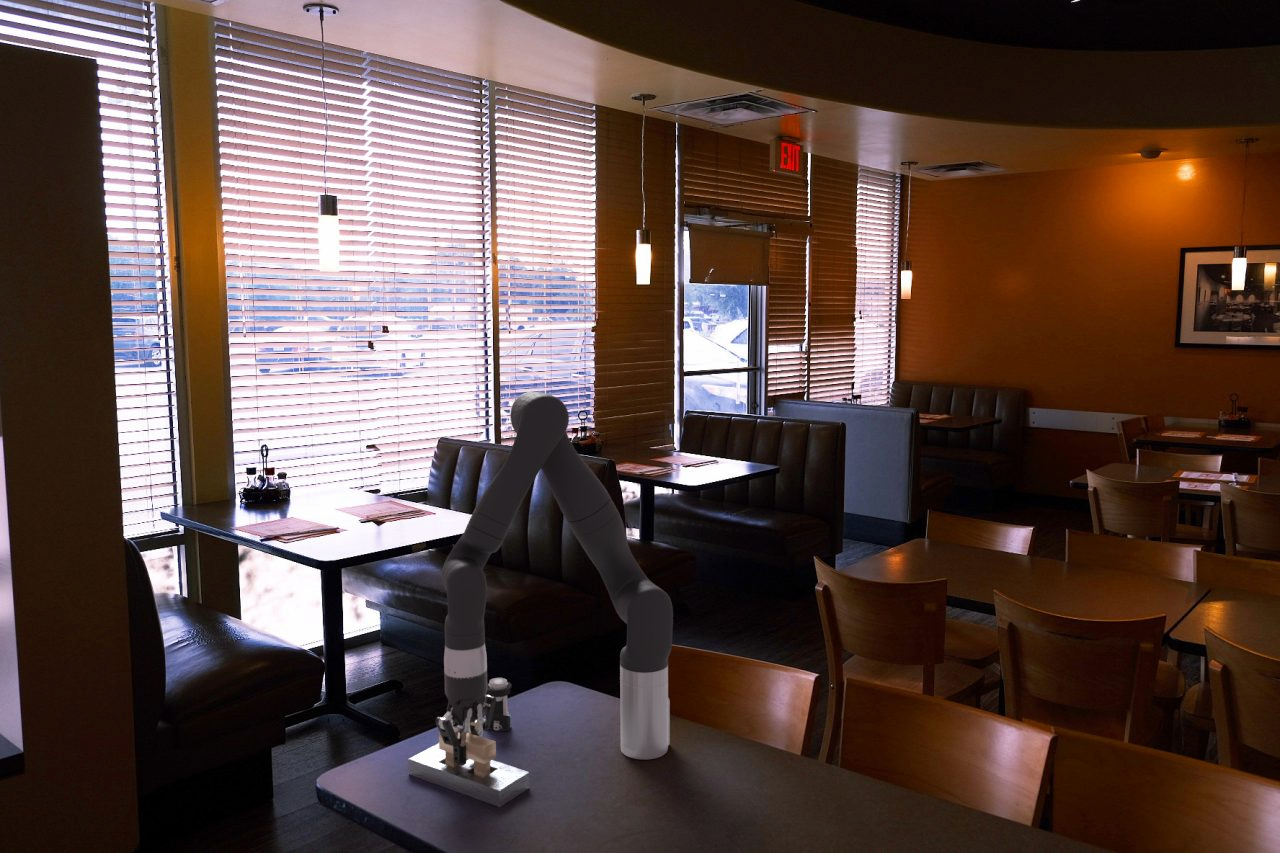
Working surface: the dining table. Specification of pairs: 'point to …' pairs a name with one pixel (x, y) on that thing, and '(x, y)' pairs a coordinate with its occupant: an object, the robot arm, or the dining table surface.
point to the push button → (499, 703)
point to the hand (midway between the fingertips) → (467, 759)
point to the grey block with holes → (470, 777)
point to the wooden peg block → (473, 753)
